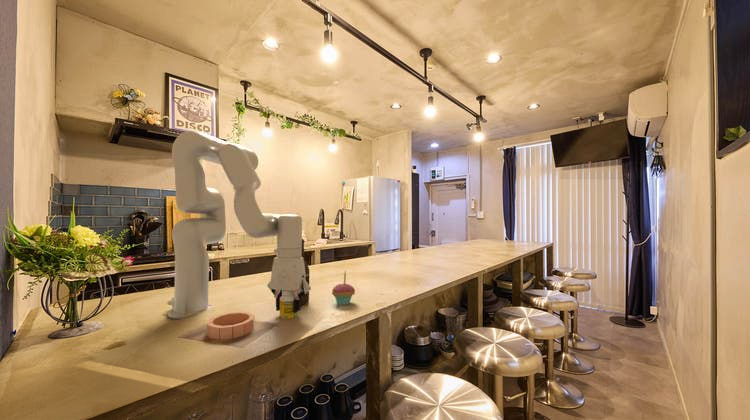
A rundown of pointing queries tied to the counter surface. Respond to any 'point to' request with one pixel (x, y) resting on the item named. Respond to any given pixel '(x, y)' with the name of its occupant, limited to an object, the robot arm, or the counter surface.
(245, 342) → the grey flat pad
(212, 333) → the terracotta holder
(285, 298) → the supplement bottle
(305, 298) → the beer bottle
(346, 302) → the cupcake
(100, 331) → the counter surface
